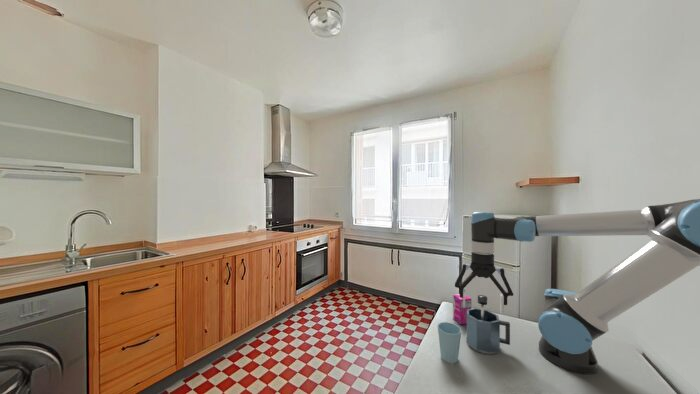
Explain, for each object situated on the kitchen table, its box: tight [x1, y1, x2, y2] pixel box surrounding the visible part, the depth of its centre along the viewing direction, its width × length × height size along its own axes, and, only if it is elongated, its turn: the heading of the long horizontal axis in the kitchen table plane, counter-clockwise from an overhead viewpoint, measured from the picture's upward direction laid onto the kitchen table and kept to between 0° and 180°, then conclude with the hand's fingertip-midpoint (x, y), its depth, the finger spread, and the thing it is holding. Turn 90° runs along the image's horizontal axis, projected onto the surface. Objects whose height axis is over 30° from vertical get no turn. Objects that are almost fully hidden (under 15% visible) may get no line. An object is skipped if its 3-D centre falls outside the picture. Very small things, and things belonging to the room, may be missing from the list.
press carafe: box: [466, 307, 511, 356], centre depth 88 cm, size 14×11×12 cm
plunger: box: [477, 294, 488, 321], centre depth 88 cm, size 8×8×16 cm
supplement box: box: [452, 293, 472, 326], centre depth 106 cm, size 6×6×12 cm
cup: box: [437, 321, 462, 364], centre depth 81 cm, size 8×8×10 cm
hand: (482, 309), depth 88 cm, fingers open, 12 cm apart
